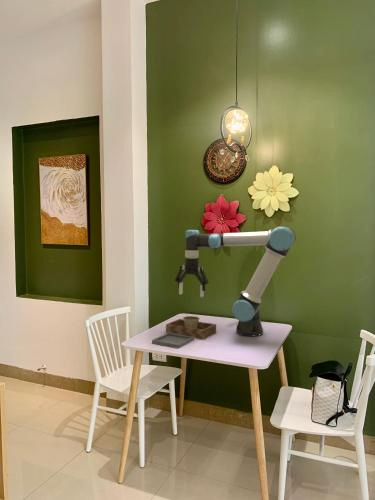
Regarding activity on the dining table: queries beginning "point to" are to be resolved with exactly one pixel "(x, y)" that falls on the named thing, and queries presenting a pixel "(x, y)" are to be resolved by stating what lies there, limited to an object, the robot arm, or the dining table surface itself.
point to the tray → (173, 340)
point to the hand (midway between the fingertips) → (191, 295)
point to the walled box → (191, 329)
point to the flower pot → (191, 321)
